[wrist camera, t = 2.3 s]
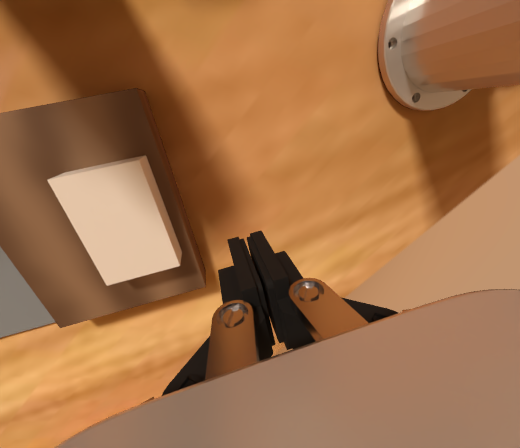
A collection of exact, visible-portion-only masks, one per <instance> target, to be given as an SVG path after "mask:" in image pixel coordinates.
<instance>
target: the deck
mask: <svg viewBox="0 0 520 448" xmlns="http://www.w3.org/2000/svg"><path fill="white" fill-rule="evenodd" d="M144 155H146V157H147V160H148V162H149V165H150V168H151V170H152V173H153V176H154V178H155V181H156V184H157V186H158V189H159V192H160V194H161V197H162V200H163V202H164V205H165V208H166V211H167V213H168V216H169V219H170V221H171V224H172V227H173V229H174V232H175V235H176V237H177V240H178V243H179V245H180V248H181V251H182V256H181V263H180V266H178V267H174V268H171V269H167V270H163V271H159V272H156V273H152V274H148V275H145V276H141V277H137V278H134V279H130V280H126V281H123V282H119V283H115V284H112V285H108V286H107V285H106V284H105V282H104V280H103V278H102V276H101V275H100V273H99V271H98V269H97V268H96V266H95V264H94V262H93V260H92V259H91V257H90V255H89V253H88V252H87V250H86V248H85V246H84V245H83V243H82V241H81V239H80V237H79V236H78V234H77V232H76V230H75V229H74V227H73V225H72V223H71V222H70V220H69V218H68V216H67V214H66V213H65V211H64V209H63V207H62V206H61V204H60V202H59V200H58V198H57V197H56V195H55V193H54V191H53V190H52V188H51V186H50V184H49V183H48V181H47V180H48V179H51V178H53V177H55V176H58V175H60V174H63V173H65V172H70V171H74V170H79V169H84V168H88V167H93V166H97V165H102V164H107V163H111V162H116V161H121V160H125V159H130V158H134V157H139V156H144ZM0 247H1V248H2V250H3V251H4V252H5V254H6V255H7V256H8V258H9V259H10V260H11V262H12V263H13V265H14V266H15V267H16V269H17V270H18V271H19V273H20V274H21V275H22V277H23V278H24V280H25V281H26V282H27V284H28V285H29V286H30V288H31V289H32V290H33V292H34V293H35V295H36V296H37V297H38V299H39V300H40V301H41V303H42V304H43V305H44V307H45V308H46V309H47V311H48V312H49V314H50V315H51V316H52V318H53V319H54V320H55V322H56V323H57V324H58V326H59V327H60V328H62V327H66V326H69V325H73V324H76V323H80V322H83V321H87V320H90V319H94V318H97V317H101V316H104V315H108V314H111V313H115V312H118V311H122V310H125V309H129V308H133V307H136V306H140V305H143V304H147V303H150V302H154V301H157V300H161V299H164V298H168V297H171V296H175V295H178V294H182V293H185V292H189V291H192V290H196V289H199V288H203V287H206V276H205V268H204V265H203V262H202V259H201V256H200V253H199V250H198V247H197V244H196V241H195V238H194V235H193V232H192V229H191V226H190V223H189V220H188V218H187V215H186V212H185V209H184V206H183V203H182V200H181V197H180V194H179V191H178V188H177V185H176V182H175V179H174V176H173V173H172V170H171V167H170V164H169V161H168V158H167V155H166V152H165V150H164V147H163V144H162V141H161V138H160V135H159V132H158V129H157V126H156V123H155V120H154V117H153V114H152V111H151V108H150V105H149V102H148V99H147V96H146V93H145V91H142V90H140V89H138V88H133V89H128V90H123V91H117V92H112V93H106V94H101V95H96V96H90V97H85V98H79V99H74V100H68V101H63V102H58V103H52V104H47V105H41V106H36V107H31V108H25V109H20V110H14V111H9V112H4V113H0Z"/></svg>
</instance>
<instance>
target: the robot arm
mask: <svg viewBox="0 0 520 448" xmlns="http://www.w3.org/2000/svg"><path fill="white" fill-rule="evenodd" d="M378 58H379V67H380V71H381V74H382V78H383V81H384V83H385V85H386V87H387V89H388V91H389V92H390V93H391V95H392V96H393V97H394V99H395V100H397V101H398V102H399V103H401V104H402V105H403V106H406V107H408V108H410V109H414V110H421V111H424V110H436V109H441V108H444V107H447V106H449V105H451V104H453V103H455V102H457V101H458V100H460V99H461V98H462V97H464V96H465V95H466V94H467V93H468V92H469V91H471V90H472V89H479V88H489V87H499V86H509V85H520V0H388V2H387V5H386V8H385V11H384V14H383V17H382V21H381V27H380V32H379V41H378ZM247 241H248V246H249V250H250V254H251V256H250V254H249V251H248V249H247V246H246V244H245V241H244V239H240V240H239V237H236V238H232V239H228V244H229V248H230V252H231V256H232V259H233V263H234V266H231V267H227V268H224V269H220V270H218V273H219V280H220V287H221V294H222V301H223V305H221V306H220V307H219V308H218V309H217V310H216V311H215V313H214V315H213V318H212V325H211V334H210V336H209V338H208V339H207V340H206V341H205V342H204V344H203V345H202V346H201V347H200V348H199V349H198V351H197V352H196V353H195V354H194V355H193V356H192V358H191V359H190V360H189V361H188V362H187V363H186V365H185V366H184V367H183V368H182V369H181V371H180V372H179V373H178V374H177V375H176V376H175V378H174V379H173V380H172V381H171V382H170V383H169V385H168V386H167V388H166V389H165V390H164V392H163V394H162V396H161V397H158V398H155V399H154V397H152V398H150V399H149V400H147V401H145V402H143V403H142V404H140V405H137V406H135V407H132V408H130V409H127V410H125V411H122V412H120V413H117V414H115V415H112V416H110V417H108V418H106V419H104V420H102V421H100V422H97V423H95V424H93V425H91V426H89V427H87V428H86V429H84V430H82V431H80V432H79V433H77V434H75V435H74V436H72V437H70V438H68V439H67V440H65V441H64V442H62V443H61V444H59V445H58V446H56V447H55V448H520V290H515V289H499V290H498V289H496V290H483V291H474V292H469V293H464V294H460V295H455V296H452V297H448V298H445V299H442V300H438V301H435V302H432V303H428V304H425V305H422V306H419V307H416V308H413V309H409V310H403V311H402V312H401V313H398V312H396V311H393V310H390V309H387V308H382V307H378V306H374V305H370V304H366V303H361V302H357V301H353V300H349V299H345V298H341V297H340V296H339V295H337V294H336V293H335V292H334V291H333V290H332V289H331V288H330V287H329V286H328V285H326V284H325V283H324V282H322V281H321V280H318V279H315V278H304V279H303V277H302V276H301V274H300V273H299V271H298V270H297V268H296V267H295V265H294V264H293V262H292V261H291V259H290V258H289V256H288V255H287V253H286V252H285V251H282V252H279V253H274V252H273V250H272V248H271V246H270V245H269V243H268V241H267V240H266V238H265V236H264V234H263V233H262V231H258V232H254V233H250V237H247ZM251 258H252V259H251ZM269 317H270V318H269ZM270 320H271V322H272V325H273V328H274V331H275V333H276V336H277V339H278V341H279V343H281V342H284V343H285V346H286V348H287V350H288V349H293V350H290V351H288V352H285V353H282V354H279V355H276V356H273V357H271V356H272V355H273V350H272V346H273V345H275V340H274V336H273V331H272V327H271V323H270Z"/></svg>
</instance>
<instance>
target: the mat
mask: <svg viewBox="0 0 520 448" xmlns="http://www.w3.org/2000/svg"><path fill="white" fill-rule="evenodd" d="M54 322H55V320H54V319H53V318H52V316H51V315H50V314H49V312H48V311H47V309H46V308H45V307H44V305H43V304H42V303H41V301H40V300H39V299H38V297H37V296H36V295H35V293H34V292H33V290H32V289H31V288H30V286H29V285H28V284H27V282H26V281H25V280H24V278H23V277H22V275H21V274H20V273H19V271H18V270H17V269H16V267H15V266H14V265H13V263H12V262H11V260H10V259H9V258H8V256H7V255H6V254H5V252H4V251H3V250H2V248H1V247H0V338H1V337H5V336H8V335H12V334H15V333H19V332H22V331H26V330H30V329H33V328H37V327H40V326H44V325H47V324H51V323H54Z"/></svg>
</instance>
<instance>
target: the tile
mask: <svg viewBox="0 0 520 448" xmlns="http://www.w3.org/2000/svg"><path fill="white" fill-rule="evenodd" d="M47 181H48V183H49V184H50V186H51V188H52V190H53V191H54V193H55V195H56V197H57V198H58V200H59V202H60V204H61V206H62V207H63V209H64V211H65V213H66V214H67V216H68V218H69V220H70V222H71V223H72V225H73V227H74V229H75V230H76V232H77V234H78V236H79V237H80V239H81V241H82V243H83V245H84V246H85V248H86V250H87V252H88V253H89V255H90V257H91V259H92V260H93V262H94V264H95V266H96V268H97V269H98V271H99V273H100V275H101V276H102V278H103V280H104V282H105V284H106V285H107V286H108V285H112V284H115V283H119V282H123V281H126V280H130V279H134V278H137V277H141V276H145V275H148V274H152V273H156V272H159V271H163V270H167V269H171V268H174V267H178V266H180V263H181V256H182V251H181V248H180V245H179V243H178V240H177V237H176V235H175V232H174V229H173V227H172V224H171V221H170V219H169V216H168V213H167V211H166V208H165V205H164V202H163V200H162V197H161V194H160V192H159V189H158V186H157V184H156V181H155V178H154V176H153V173H152V170H151V168H150V165H149V162H148V160H147V157H146V155H144V156H139V157H134V158H130V159H125V160H121V161H116V162H111V163H107V164H102V165H97V166H93V167H88V168H84V169H79V170H74V171H70V172H65V173H63V174H60V175H58V176H55V177H53V178H51V179H48V180H47Z"/></svg>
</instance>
